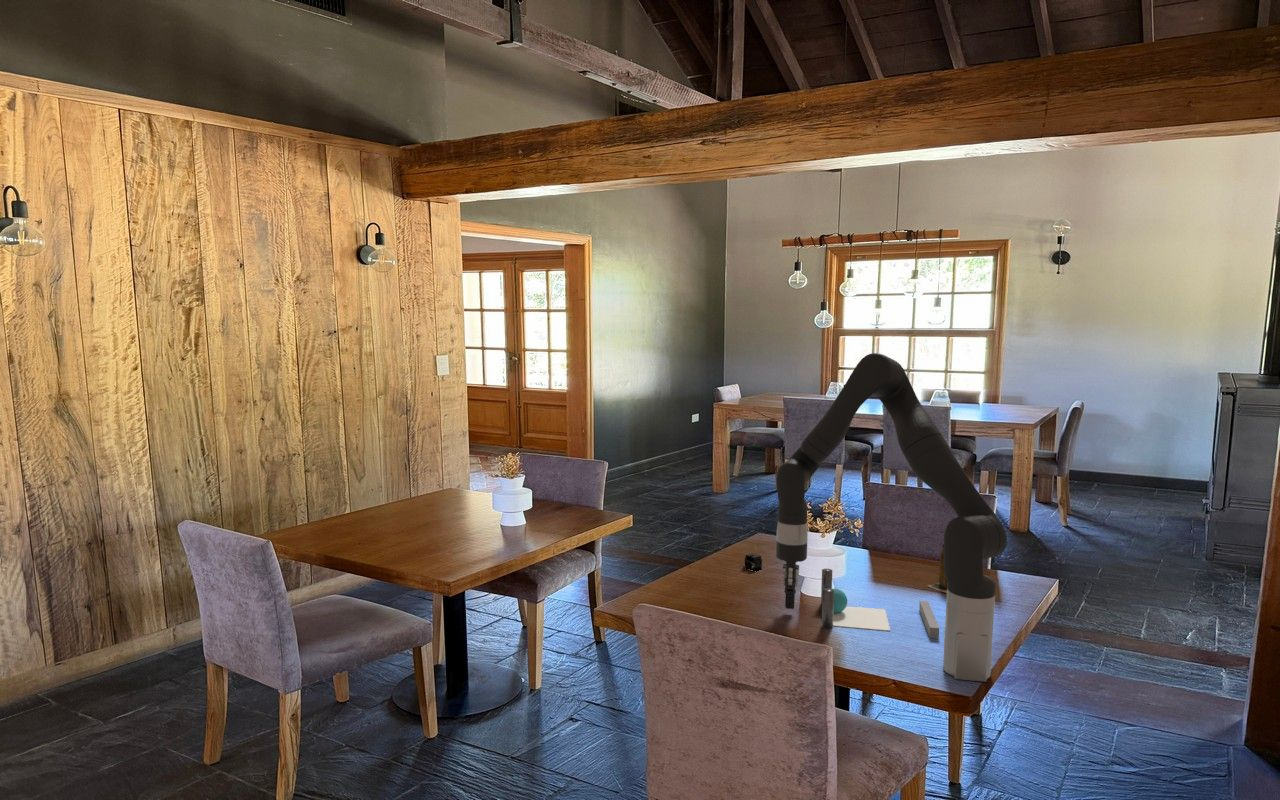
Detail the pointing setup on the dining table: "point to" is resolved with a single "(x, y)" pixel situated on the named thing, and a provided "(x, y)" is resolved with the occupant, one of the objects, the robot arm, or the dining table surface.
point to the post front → (827, 608)
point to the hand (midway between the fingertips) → (789, 607)
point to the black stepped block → (753, 562)
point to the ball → (839, 601)
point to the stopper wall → (929, 619)
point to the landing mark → (862, 618)
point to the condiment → (941, 576)
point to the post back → (826, 581)
